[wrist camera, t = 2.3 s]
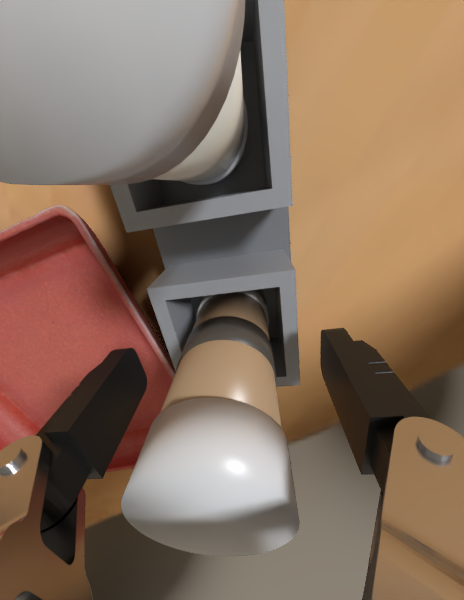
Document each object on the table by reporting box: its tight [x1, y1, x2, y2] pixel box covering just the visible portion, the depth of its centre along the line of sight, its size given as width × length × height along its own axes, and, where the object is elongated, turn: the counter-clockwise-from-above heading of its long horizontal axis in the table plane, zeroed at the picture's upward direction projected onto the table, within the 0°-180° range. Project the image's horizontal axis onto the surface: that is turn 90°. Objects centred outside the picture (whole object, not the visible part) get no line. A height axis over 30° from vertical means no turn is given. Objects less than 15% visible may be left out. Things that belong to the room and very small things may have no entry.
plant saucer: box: [0, 205, 176, 472], centre depth 16 cm, size 18×18×3 cm
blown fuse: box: [121, 289, 299, 556], centre depth 9 cm, size 4×4×9 cm
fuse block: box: [110, 0, 300, 387], centre depth 10 cm, size 6×16×4 cm, turn 9°
